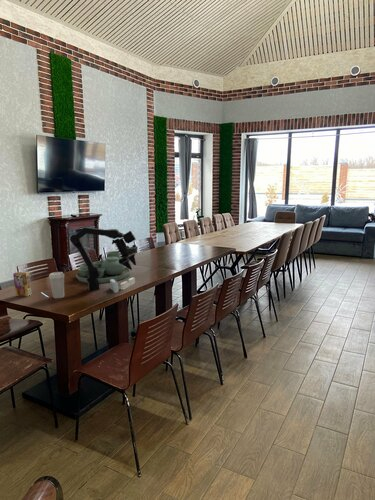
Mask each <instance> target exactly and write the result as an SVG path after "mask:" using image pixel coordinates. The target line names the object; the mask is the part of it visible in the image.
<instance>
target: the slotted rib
mask: <svg viewBox="0 0 375 500" xmlns="http://www.w3.org/2000/svg"><path fill="white" fill-rule="evenodd" d="M134 284H136V278H135V277H131V278H128V279H127V280H124V281H123V282H121V283H120V290H122V291H123V290H126V289H127V288H129V287H131V286H133V285H134Z"/></svg>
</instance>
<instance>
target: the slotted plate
mask: <svg viewBox="0 0 375 500" xmlns="http://www.w3.org/2000/svg"><path fill="white" fill-rule="evenodd" d="M109 285H110V290H112V291H113V293H114V294H116V293H117V294H118V293H119V283H118V282H117V281H115V280H114V279H111V280H110V282H109Z"/></svg>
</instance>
